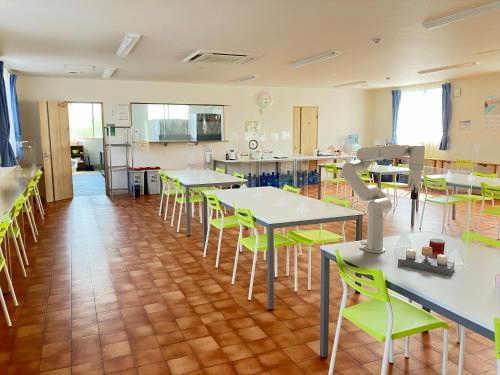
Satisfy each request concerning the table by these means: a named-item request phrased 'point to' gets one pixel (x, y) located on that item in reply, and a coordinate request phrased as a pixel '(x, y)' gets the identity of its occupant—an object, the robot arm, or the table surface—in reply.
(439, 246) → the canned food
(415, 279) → the table surface
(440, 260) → the knob
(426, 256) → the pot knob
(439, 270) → the console
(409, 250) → the knob
